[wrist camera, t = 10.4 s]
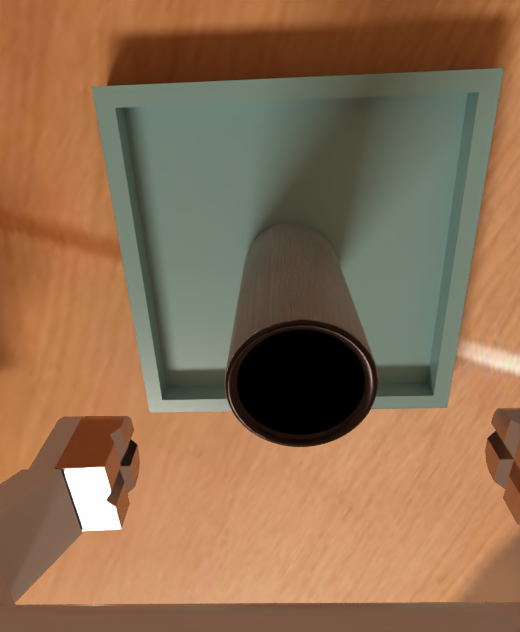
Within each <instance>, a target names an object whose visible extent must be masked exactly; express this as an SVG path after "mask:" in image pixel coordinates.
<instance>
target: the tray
mask: <svg viewBox="0 0 520 632" xmlns="http://www.w3.org/2000/svg"><path fill="white" fill-rule="evenodd" d="M503 70H504V68H493V69H471V70H449V71H427V72H405V73H382V74H360V75H338V76H316V77H294V78H272V79H250V80H228V81H206V82H184V83H162V84H140V85H118V86H96V87H92V91H93V97H94V102H95V108H96V114H97V119H98V125H99V130H100V136H101V142H102V147H103V153H104V159H105V164H106V170H107V175H108V181H109V187H110V192H111V198H112V204H113V209H114V215H115V220H116V226H117V232H118V237H119V243H120V248H121V254H122V260H123V265H124V271H125V277H126V282H127V288H128V293H129V299H130V305H131V310H132V316H133V321H134V327H135V333H136V338H137V344H138V350H139V355H140V361H141V366H142V372H143V378H144V383H145V389H146V395H147V400H148V406H149V411H150V412H202V411H232V410H231V408H230V406H229V404H228V401H227V398H226V393H225V373H226V367H227V361H228V355H229V349H230V343H231V337H232V332H233V326H234V320H235V314H236V308H237V302H238V297H239V291H240V285H241V279H242V273H243V267H244V262H245V258H246V255H247V252H248V250H249V248H250V246H251V244H252V243H253V241H254V240H255V239H256V238H257V237H258V236H259V235H260V234H261V233H262V232H264V231H265V230H267V229H269V228H271V227H273V226H276V225H279V224H284V223H300V224H304V225H308V226H310V227H312V228H314V229H316V230H318V231H319V232H321V233H322V234H323V235H324V236H325V237H326V238H327V239H328V241H329V242H330V244H331V245H332V247H333V249H334V251H335V253H336V255H337V258H338V261H339V264H340V266H341V269H342V272H343V275H344V277H345V280H346V283H347V286H348V289H349V291H350V294H351V297H352V300H353V302H354V305H355V308H356V311H357V313H358V316H359V319H360V322H361V324H362V327H363V330H364V333H365V336H366V338H367V341H368V344H369V347H370V349H371V352H372V355H373V358H374V361H375V364H376V367H377V372H378V390H377V395H376V398H375V401H374V404H373V406H372V408H371V409H404V408H447V406H448V400H449V394H450V388H451V382H452V376H453V370H454V364H455V358H456V352H457V346H458V340H459V334H460V328H461V322H462V316H463V310H464V304H465V298H466V292H467V286H468V280H469V274H470V268H471V262H472V256H473V250H474V244H475V238H476V232H477V226H478V220H479V214H480V208H481V202H482V196H483V190H484V184H485V178H486V172H487V166H488V160H489V154H490V148H491V142H492V136H493V130H494V124H495V118H496V112H497V106H498V100H499V94H500V88H501V82H502V76H503Z"/></svg>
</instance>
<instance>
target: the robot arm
mask: <svg viewBox="0 0 520 632" xmlns="http://www.w3.org/2000/svg"><path fill="white" fill-rule="evenodd" d="M491 423H492V425H493V426H494V428H495V430H496V431H495V432H494V433H493V434H492V435H491V436H489V437H488V438H487V443H486V449H485V453H486V463H487V466H488V469H489V472H490V474H491V476H492V478H493V480H494V481H495V482H496V483H497V484H499V485H500V486H502V487H503V488H505V493H504V496H503V499H504V501H505V502H506V504H507V506H508V508H509V510H510V512H511V514H512V515H513V517H514V519H515V521H516V523H517V524H520V408H497V410H496V411H495V412H494V414H493V418H492V422H491ZM133 431H134V428H133V424H132V420H131V418H129V417H128V416H85V417H63V418H61V419H59V420H58V422H57V423H56V425H55V427H54V428H53V430H52V432H51V433H50V435H49V437H48V438H47V440H46V442H45V443H44V445H43V447H42V448H41V450H40V452H39V453H38V455H37V457H36V458H35V460H34V462H33V463H32V465H31V467H30V468H29V470H21V471H19V472H18V473H16V474H15V475H13V476H12V477H10V478H9V479H8V480H6V481H5V482H3V483H2V484H0V632H520V602H417V603H236V604H67V605H15V602H16V601H17V600H18V599H19V598H20V597H21V596H22V595H23V594H24V593H25V592H26V591H27V590H28V589H29V588H30V587H31V586H32V585H33V584H34V583H35V582H36V581H37V580H38V578H39V577H40V576H41V575H42V574H43V573H44V572H45V571H46V570H47V569H48V568H49V567H50V566H51V565H52V564H53V563H54V562H55V561H56V560H57V559H58V558H59V557H60V556H61V555H62V554H63V552H64V551H65V550H66V549H67V548H68V547H69V546H70V545H71V544H72V543H73V542H74V541H75V540H76V539H77V538H78V537H79V536H80V535H81V534H82V531H90V530H114V529H121V528H122V525H123V522H124V519H125V516H126V513H127V510H128V507H129V504H130V502H129V498H128V494H127V493H128V492H130V491H131V490H132V489H133V488H134V487H135V485H136V482H137V478H138V474H139V465H140V460H139V450H138V445H137V444H136V443H135V442H134V441H132V440H131V437H132V434H133Z"/></svg>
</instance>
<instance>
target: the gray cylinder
mask: <svg viewBox="0 0 520 632" xmlns="http://www.w3.org/2000/svg"><path fill="white" fill-rule="evenodd" d="M377 390H378V372H377V367H376V364H375V361H374V358H373V355H372V352H371V349H370V347H369V344H368V341H367V338H366V336H365V333H364V330H363V327H362V324H361V322H360V319H359V316H358V313H357V311H356V308H355V305H354V302H353V300H352V297H351V294H350V291H349V289H348V286H347V283H346V280H345V277H344V275H343V272H342V269H341V266H340V264H339V261H338V258H337V255H336V253H335V251H334V249H333V247H332V245H331V244H330V242H329V241H328V239H327V238H326V237H325V236H324V235H323V234H322V233H321V232H319V231H318V230H316V229H314V228H312V227H310V226H308V225H304V224H300V223H284V224H279V225H276V226H273V227H271V228H269V229H267V230H265V231H264V232H262V233H261V234H260V235H259V236H258V237H257V238H256V239H255V240H254V241H253V243H252V244H251V246H250V248H249V250H248V252H247V255H246V258H245V262H244V267H243V273H242V279H241V285H240V291H239V297H238V302H237V308H236V314H235V320H234V326H233V332H232V337H231V343H230V349H229V355H228V361H227V367H226V373H225V393H226V398H227V401H228V404H229V406H230V408H231V410H232V412H233V413H234V415H235V416H236V418H237V419H238V420H239V421H240V422H241V423H242V425H243V426H245V427H246V428H247V429H248V430H249V431H251V432H252V433H254V434H255V435H257V436H259V437H260V438H262V439H265V440H267V441H270V442H272V443H276V444H280V445H284V446H292V447H309V446H316V445H321V444H325V443H328V442H331V441H334V440H336V439H338V438H340V437H342V436H344V435H346V434H347V433H349V432H350V431H352V430H353V429H354V428H355V427H357V426H358V425H359V424H360V423H361V422H362V421H363V419H364V418H365V417H366V416H367V414H368V413H369V411H370V410H371V408H372V406H373V404H374V401H375V398H376V395H377Z"/></svg>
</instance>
